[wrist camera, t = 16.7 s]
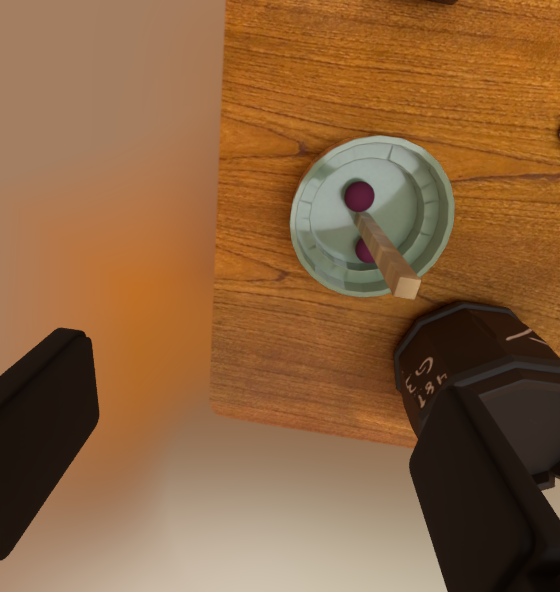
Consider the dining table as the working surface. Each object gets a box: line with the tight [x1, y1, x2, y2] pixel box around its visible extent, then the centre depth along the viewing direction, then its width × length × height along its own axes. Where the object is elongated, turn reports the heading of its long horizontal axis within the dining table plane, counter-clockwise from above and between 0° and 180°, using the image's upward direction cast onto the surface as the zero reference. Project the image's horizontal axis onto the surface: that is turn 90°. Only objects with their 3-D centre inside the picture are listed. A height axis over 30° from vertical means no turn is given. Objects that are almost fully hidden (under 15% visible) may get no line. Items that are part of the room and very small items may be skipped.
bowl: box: [289, 134, 455, 297], centre depth 39 cm, size 16×16×6 cm
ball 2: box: [355, 238, 375, 263], centre depth 41 cm, size 3×3×3 cm
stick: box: [354, 212, 421, 300], centre depth 32 cm, size 1×1×20 cm
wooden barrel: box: [394, 301, 560, 491], centre depth 41 cm, size 18×18×16 cm
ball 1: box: [344, 181, 375, 212], centre depth 38 cm, size 3×3×3 cm
